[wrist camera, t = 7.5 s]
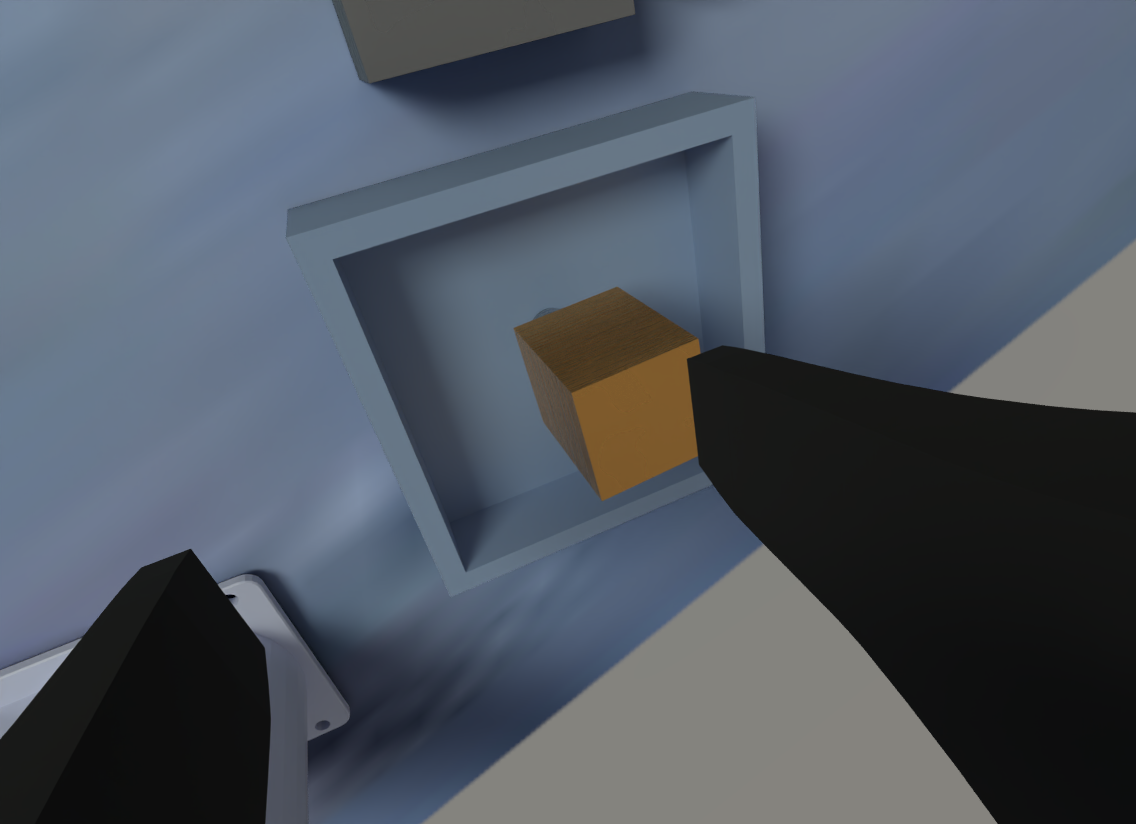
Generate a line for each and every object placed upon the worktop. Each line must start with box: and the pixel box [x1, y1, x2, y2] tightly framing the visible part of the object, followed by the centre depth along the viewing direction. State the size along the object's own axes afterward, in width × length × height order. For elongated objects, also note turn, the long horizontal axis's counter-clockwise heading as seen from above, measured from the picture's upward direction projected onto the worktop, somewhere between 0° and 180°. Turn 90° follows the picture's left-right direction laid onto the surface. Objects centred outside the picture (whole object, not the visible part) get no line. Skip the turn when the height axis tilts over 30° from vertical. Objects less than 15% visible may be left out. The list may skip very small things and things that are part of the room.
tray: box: [286, 92, 765, 597], centre depth 19 cm, size 11×11×3 cm
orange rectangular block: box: [513, 287, 701, 501], centre depth 17 cm, size 3×3×6 cm
